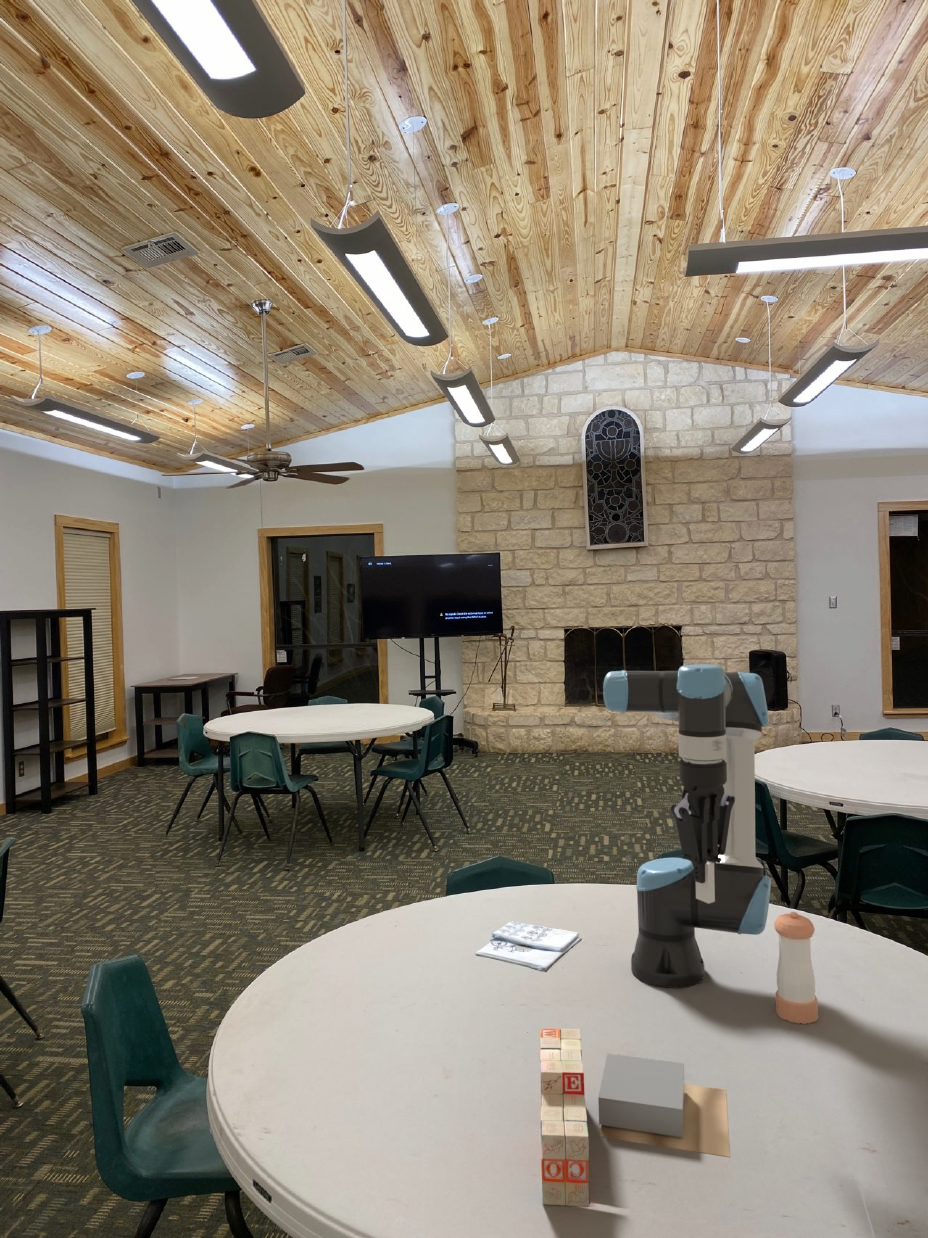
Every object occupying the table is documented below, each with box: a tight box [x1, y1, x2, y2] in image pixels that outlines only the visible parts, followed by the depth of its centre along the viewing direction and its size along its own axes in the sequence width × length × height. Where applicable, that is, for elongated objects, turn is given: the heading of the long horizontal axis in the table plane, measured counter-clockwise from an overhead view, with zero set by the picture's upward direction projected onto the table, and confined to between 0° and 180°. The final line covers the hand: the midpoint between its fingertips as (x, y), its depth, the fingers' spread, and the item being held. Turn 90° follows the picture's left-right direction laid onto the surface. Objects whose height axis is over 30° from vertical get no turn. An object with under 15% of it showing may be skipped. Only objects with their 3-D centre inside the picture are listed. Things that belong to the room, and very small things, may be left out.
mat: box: [598, 1083, 731, 1158], centre depth 119 cm, size 18×16×1 cm
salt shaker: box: [773, 911, 819, 1025], centre depth 148 cm, size 7×7×19 cm
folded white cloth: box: [474, 920, 582, 972], centre depth 182 cm, size 19×20×2 cm
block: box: [597, 1053, 686, 1137], centre depth 120 cm, size 4×12×12 cm
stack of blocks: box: [539, 1028, 590, 1207], centre depth 112 cm, size 21×6×12 cm, turn 174°
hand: (705, 899), depth 130 cm, fingers closed
